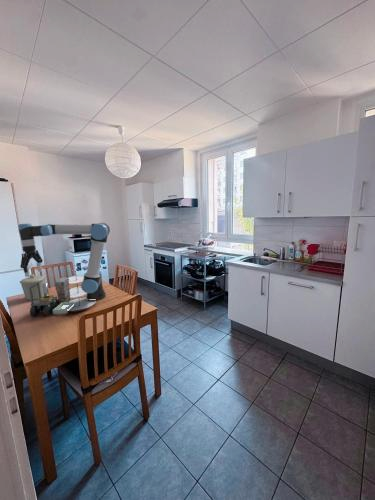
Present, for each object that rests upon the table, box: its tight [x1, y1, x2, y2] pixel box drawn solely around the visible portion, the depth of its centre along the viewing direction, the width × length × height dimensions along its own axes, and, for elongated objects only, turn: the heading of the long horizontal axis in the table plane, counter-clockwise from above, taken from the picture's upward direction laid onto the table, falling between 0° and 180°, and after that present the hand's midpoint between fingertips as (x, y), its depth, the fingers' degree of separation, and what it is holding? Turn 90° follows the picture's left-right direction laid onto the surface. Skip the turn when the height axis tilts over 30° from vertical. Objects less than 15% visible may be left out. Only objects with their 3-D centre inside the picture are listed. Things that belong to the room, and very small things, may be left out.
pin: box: [42, 282, 50, 298], centre depth 154 cm, size 3×3×12 cm
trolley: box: [29, 283, 59, 317], centre depth 154 cm, size 12×16×22 cm
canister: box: [19, 274, 46, 301], centre depth 183 cm, size 18×18×21 cm
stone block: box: [54, 277, 71, 305], centre depth 170 cm, size 13×7×20 cm, turn 18°
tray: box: [52, 301, 75, 316], centre depth 158 cm, size 9×13×4 cm
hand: (34, 273), depth 155 cm, fingers open, 13 cm apart
